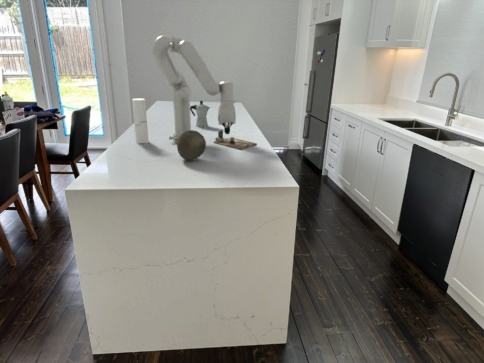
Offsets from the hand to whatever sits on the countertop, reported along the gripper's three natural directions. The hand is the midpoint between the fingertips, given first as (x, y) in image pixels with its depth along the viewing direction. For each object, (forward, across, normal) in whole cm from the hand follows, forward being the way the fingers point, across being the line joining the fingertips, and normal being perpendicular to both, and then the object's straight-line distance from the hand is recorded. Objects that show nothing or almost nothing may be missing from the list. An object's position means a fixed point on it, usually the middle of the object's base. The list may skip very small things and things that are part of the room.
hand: (227, 133), depth 207 cm
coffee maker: (+5, +2, -46) cm, 46 cm away
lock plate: (+5, -2, +7) cm, 9 cm away
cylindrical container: (+4, +48, -16) cm, 51 cm away
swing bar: (+3, +3, +4) cm, 6 cm away
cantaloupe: (+5, +31, +28) cm, 42 cm away
